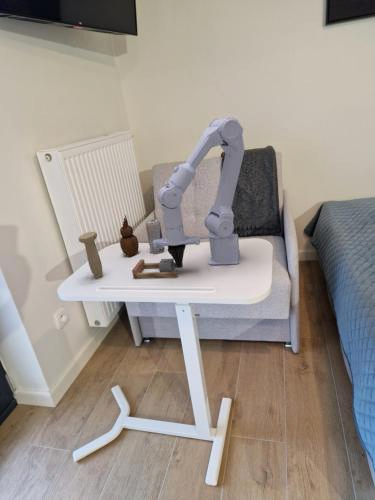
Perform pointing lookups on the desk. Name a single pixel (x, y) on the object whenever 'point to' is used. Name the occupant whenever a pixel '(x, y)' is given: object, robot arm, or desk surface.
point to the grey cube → (166, 265)
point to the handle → (92, 253)
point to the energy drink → (154, 234)
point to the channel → (141, 266)
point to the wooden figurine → (128, 239)
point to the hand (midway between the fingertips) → (180, 266)
